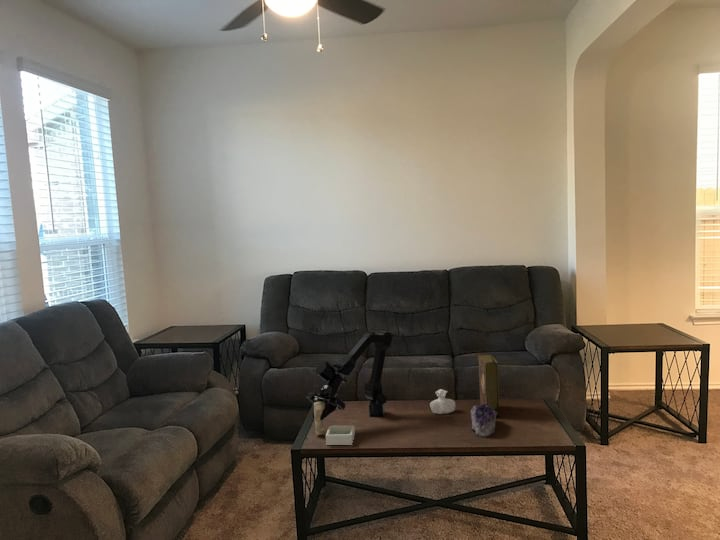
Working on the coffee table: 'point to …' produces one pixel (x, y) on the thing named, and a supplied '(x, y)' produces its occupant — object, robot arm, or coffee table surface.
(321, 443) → the coffee table surface
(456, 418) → the coffee table surface
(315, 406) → the peg
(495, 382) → the book
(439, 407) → the white rounded necked piece
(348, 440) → the bore box
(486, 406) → the geode
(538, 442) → the coffee table surface
